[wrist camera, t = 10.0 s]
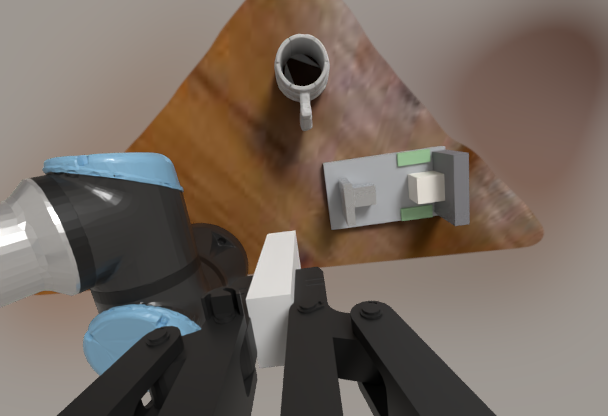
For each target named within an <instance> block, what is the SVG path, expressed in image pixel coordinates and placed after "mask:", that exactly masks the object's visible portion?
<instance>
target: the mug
mask: <svg viewBox="0 0 608 416" xmlns="http://www.w3.org/2000/svg"><path fill="white" fill-rule="evenodd" d="M305 55H308V56H310V57H312V58H313V59H315V60H316V61H317V62H318V64H319V66H318V65H317V64H316V63H314V62H313V61H312V60H310V59H309V58H308V57H306V56H305ZM290 58H293V59H296V60H298V61H301V62H304V63H307V64H310V65H313V66H316V67H319V68H321V73H322V74H321V75H320V77H319V78H318V80H317V81H315V82H314V83H313V84H310V85H308V86H297V85H294V82H293V79H292V77H291V74H290V72H289V69H288V66H287V64H286V62H287V61H288V60H289V59H290ZM284 66H285V77H284V75H283V73H282V72H283V68H284ZM329 68H330V66H329V59H328V55H327V52H326V50H325V48H324V46H323V44H322V43H321V42H320V41H319V40H318V39H317V38H314V36H311V35H309V34H306V35H304V34H296V35H293V36H291V37H289V39H288V38H287V39H286V40H285V41H284V42H283V43H282V44H281V46H280V47H279V49H278V52H277V54H276V59H275V74H276V81H277V84H278V88H279V89H280V90H281V91H282V93H283V94H284V95H285V96H286V97H288V98H289V99H291V100H293V101H297V102H300V108H301V109H300V126H301V129H302V130H303V131H307V130H310V129H311V128H312V110H311V106H310V101H311V100H313V99H315V98H316V97H318V96H319V95H320V94H321V93H322V91H323V90H324V89H325V88H326V84H327V81H328V75H329Z"/></svg>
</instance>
